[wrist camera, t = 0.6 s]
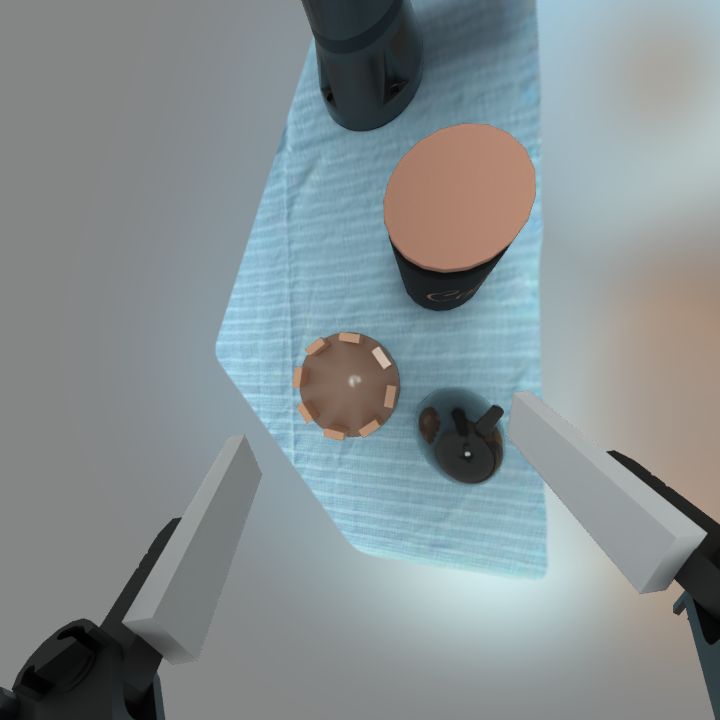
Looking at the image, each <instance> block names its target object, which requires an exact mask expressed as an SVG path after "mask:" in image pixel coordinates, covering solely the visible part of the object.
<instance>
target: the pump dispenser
mask: <svg viewBox="0 0 720 720" xmlns="http://www.w3.org/2000/svg"><path fill="white" fill-rule="evenodd" d="M503 414H504V410H503V409H502V408H501V407H500V406H498V405H491V404H490V403H489V402H488V401H487V400H486V399H485V398H483V397H482V396H481V395H479V394H477V393H475V392H473V391H471V390H468V389H464V388H445V389H441V390H438V391H436V392H434V393H432V394H431V395H429V396H428V397H427V398H426V399H425V400H424V401H423V402H422V403H421V405H420V406H419V408H418V410H417V413H416V416H415V422H414V432H415V437H416V441H417V444H418V447H419V449H420V452H421V454H422V455H423V457H424V459H425V460H426V462H427V463H428V464H429V465H430V467H431V468H432V469H433V470H434V471H435V472H436V473H438V474H439V475H440V476H442V477H443V478H445V479H446V480H448V481H450V482H452V483H455V484H457V485H461V486H466V487H475V486H480V485H483V484H486V483H488V482H489V481H491V480H492V479H493V478H494V477H495V476H496V475H497V474H498V473H499V471H500V470H501V468H502V466H503V463H504V460H505V455H506V435H505V430H504V427H503V424H502V421H501V419H500V418H501V417H502V415H503Z"/></svg>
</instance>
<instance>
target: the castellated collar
mask: <svg viewBox="0 0 720 720" xmlns="http://www.w3.org/2000/svg"><path fill="white" fill-rule="evenodd" d="M305 350H306V351H307V353H308V355H307V357H306V358H305V360H304V363H303V365H302V366H301V367H295V371H294V378H293V385H292V386H293V387H297V388H300V395H301V398H302V403H301V404H299V405H298V406H297V408H298V410H299V412H300V413H301V415H302V416H303V418H304V420H305V421H306V423H309V422H311V421H313V420H314V421H315V422H316V423H317V424H318V425H319V426H320V427H322V428H323V429H325V430H324V436H325V437H329V438H333V439H336V440H340V441H343V440H344V439H345V438H346V437H358V436H362V437H363V438H364V437H366V436H367V435H369V434H370V433H372V432H373V431H375V430H376V429H378V428H379V427H381V426H382V425H383V424H384V423H385V422H386V421H387V419H388V418H389V417H390V415H391V414H392V412H393V410H394V409H395V406H396V404H397V401H398V397H399V391H400V380H399V374H398V370H397V367H396V365H395V362H394V360H393V359H392V357H391V355H390V354H389V353H388V351H387V350H386V349H385V348H384V347H383V346H382V345H381V344H379V343H378V342H377V341H375V340H374V339H372V338H370V337H367V336H365V335H362V334H358V333H350V332H347V333H344V332H340V333H338V334H334V335H331V336H329V337H327V338H322V337H320V338H319V339H317V340H316V341H315V342H314V343H312V344H311V345H310V346H309V347H307V348H306V349H305Z"/></svg>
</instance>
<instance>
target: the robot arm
mask: <svg viewBox="0 0 720 720" xmlns="http://www.w3.org/2000/svg"><path fill="white" fill-rule="evenodd" d="M301 1H302V4H303V7H304V9H305V12H306V15H307V17H308V20H309V23H310V26H311V29H312V32H313V35H314V38H315V46H316V56H317V65H318V75H319V84H320V89H321V93H322V96H323V99H324V101H325V104H326V106H327V109H328V111H329V113H330V115H331V116H332V118H333V119H334V120H335V121H336V122H337V123H339V124H340V125H341V126H343V127H345V128H348V129H352V130H370V129H374V128H377V127H379V126H382V125H384V124H386V123H387V122H389V121H391V120H392V119H393V118H395V117H396V116H397V115H398V114H400V113H401V112H402V111H403V110H404V108H405V107H406V106H407V105H408V104H409V102H410V101H411V99H412V98H413V96H414V94H415V93H416V90H417V88H418V86H419V83H420V80H421V76H422V70H423V44H422V37H421V32H420V29H419V26H418V23H417V20H416V17H415V14H414V11H413V8H412V4H411V1H410V0H301ZM507 437H508V438H509V439H510V441H511V442H512V443H513V444H514V445H515V446H516V448H517V449H518V450H519V451H520V452H521V454H522V455H523V456H524V457H525V458H526V460H527V461H528V462H529V463H530V464H531V465H532V467H533V468H534V469H535V470H536V471H537V473H538V474H539V475H540V476H541V477H542V478H543V480H544V481H545V482H546V483H547V484H548V486H549V487H550V488H551V489H552V490H553V491H554V493H555V494H556V495H557V496H558V497H559V499H560V500H561V501H562V502H563V503H564V505H566V507H567V508H568V509H569V511H570V512H571V513H572V514H573V515H574V516H575V518H576V519H577V520H578V521H579V522H580V523H581V525H582V526H583V527H584V528H585V529H586V531H587V532H588V533H589V534H590V535H591V537H592V538H593V539H594V540H595V541H596V542H597V544H598V545H599V546H600V547H601V548H602V550H603V551H604V552H605V553H606V554H607V556H608V557H609V558H610V559H611V560H612V562H613V563H614V564H615V565H616V566H617V567H618V569H619V570H620V571H621V572H622V573H623V575H624V576H625V577H626V578H627V579H628V580H629V582H630V583H631V584H632V585H633V586H634V587H635V589H636V590H637V591H638V592H639V594H643V593H650V592H657V591H663V590H666V589H667V588H668V587H669V585H670V584H671V582H672V581H673V580H674V579H675V580H676V581H677V582H678V583H679V584H680V585H681V586H682V587H683V588H684V589H685V591H684V592H683V594H682V595H681V596H680V598H679V599H678V600H677V601H676V602H675V604H674V605H673V613H675V614H677V615H680V613H681V612H682V611H683V610H684V609H685V608H686V611H687V614H688V620H689V622H690V626H691V629H692V633H693V637H694V641H695V645H696V648H697V652H698V656H699V660H700V663H701V667H702V671H703V674H704V678H705V682H706V686H707V690H708V694H709V697H710V701H711V705H712V709H713V712H714V716H715V720H720V524H718V523H717V522H716V521H714V520H713V519H712V518H710V517H709V516H707V515H706V514H705V513H704V512H702V511H701V510H700V509H698V508H697V507H696V506H694V505H693V504H692V503H690V502H689V501H688V500H686V499H685V498H684V497H682V496H681V495H679V494H678V493H677V492H675V491H674V490H673V489H671V488H670V487H667V486H666V485H665V483H664V482H662V481H661V480H660V479H658V478H657V477H656V476H652V475H651V473H650V472H649V471H648V470H646V469H645V468H644V467H642V466H641V465H640V464H638V463H637V462H636V461H634V460H632V459H631V458H628V457H627V456H625V455H623V454H620V453H618V452H616V451H615V450H613V451H607V452H605V451H604V450H603V449H602V448H600V447H599V446H598V445H596V444H595V443H594V442H593V441H591V440H590V439H589V438H588V437H587V436H585V435H584V434H583V433H582V432H580V431H579V430H578V429H577V428H575V427H574V426H573V425H571V424H570V423H569V422H568V421H567V420H565V419H564V418H563V417H562V416H560V415H559V414H558V413H557V412H555V411H554V410H553V409H552V408H550V407H549V406H548V405H546V404H545V403H544V402H543V401H542V400H540V399H539V398H538V397H537V396H535V395H534V394H533V393H532V392H530V391H522V392H516V393H513V399H512V406H511V413H510V420H509V427H508V434H507ZM261 476H262V473H261V471H260V468H259V466H258V464H257V461H256V459H255V457H254V454H253V452H252V450H251V447H250V445H249V443H248V441H247V439H246V436H245V434H244V435H237V436H231V437H229V438H228V440H227V441H226V443H225V445H224V446H223V448H222V450H221V452H220V453H219V455H218V457H217V459H216V460H215V462H214V464H213V465H212V467H211V469H210V471H209V472H208V474H207V476H206V478H205V479H204V481H203V483H202V484H201V486H200V488H199V490H198V491H197V493H196V495H195V497H194V498H193V500H192V502H191V504H190V505H189V507H188V509H187V510H186V512H185V514H184V516H183V517H181V518H175V519H172V520H171V521H170V522H169V523H168V524H167V525H166V526H165V528H164V529H163V530H162V531H161V532H160V533H159V534H158V535H157V537H156V539H155V540H154V542H153V543H152V545H151V546H150V548H149V550H148V553H147V554H145V556H144V558H143V559H142V561H141V562H140V564H139V568H137V569H136V570H135V572H134V574H133V575H132V577H131V578H130V580H129V581H128V583H127V585H126V586H125V588H124V589H123V591H122V593H121V594H120V596H119V598H118V599H117V601H116V602H115V604H114V605H113V607H112V609H111V610H110V612H109V613H108V615H107V616H106V618H105V620H104V621H103V623H102V625H101V626H100V627H98V626H97V625H95V624H94V623H93V622H92V621H90V620H87V619H84V618H83V619H80V620H76V621H72V622H71V623H69V624H67V625H66V626H64V627H62V628H61V629H59V630H58V631H56V632H55V633H54V634H53V635H52V636H50V638H48V639H47V640H46V641H45V642H43V643H42V644H41V646H40V647H39V648H38V649H37V650H36V651H35V652H34V653H33V654H32V656H31V657H30V658H29V659H28V660H27V662H26V663H25V665H24V666H23V668H22V669H21V671H20V672H19V674H18V675H17V678H16V680H15V683H14V685H13V687H12V690H13V692H11V691H9V690H7V689H5V688H2V687H0V720H165V714H164V707H163V699H162V692H161V685H160V678H159V676H158V673H157V669H158V667H159V665H160V662H161V660H162V658H165V659H166V660H167V661H168V662H169V663H171V664H172V665H174V664H181V663H187V662H194V661H198V659H199V656H200V653H201V650H202V647H203V644H204V641H205V638H206V636H207V633H208V629H209V627H210V624H211V621H212V618H213V615H214V612H215V609H216V607H217V604H218V601H219V598H220V595H221V592H222V589H223V586H224V583H225V580H226V578H227V575H228V572H229V569H230V566H231V563H232V560H233V557H234V554H235V551H236V548H237V546H238V543H239V540H240V537H241V534H242V531H243V528H244V525H245V522H246V519H247V517H248V513H249V511H250V508H251V505H252V502H253V499H254V496H255V493H256V490H257V488H258V484H259V481H260V479H261Z"/></svg>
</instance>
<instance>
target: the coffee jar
mask: <svg viewBox="0 0 720 720" xmlns="http://www.w3.org/2000/svg"><path fill="white" fill-rule="evenodd" d="M535 196H536V184H535V169H534V167H533V164H532V162H531V160H530V157H529V155H528V153H527V151H526V149H525V148H524V147H523V146H522V145H521V144H520V143H519V142H518V141H517V140H516V139H515V138H514V137H513V136H512V135H511V134H510V133H508V132H505V131H503V130H500V129H498V128H495V127H493V126H490V125H488V124H468V123H463V124H459V125H455V126H451V127H447V128H443V129H440V130H438V131H436V132H435V133H433V134H431V135H429V136H428V137H426V138H424V139H422V140H421V141H419V142H418V143H417V144H416V145H415V146H414V147H413V148H412V149H411V150H410V151H409V152H408V153H406V154H405V155H404V156H403V157H402V158H401V160H400V162H399V163H398V165H397V167H396V168H395V170H394V172H393V173H392V175H391V177H390V178H389V182H388V186H387V190H386V193H385V197H384V201H383V202H384V223H385V225H386V228H387V230H388V233H389V239H390V242H391V245H392V248H393V251H394V255H395V258H396V261H397V264H398V267H399V270H400V273H401V276H402V280H403V283H404V285H405V288H406V290H407V293H408V294H409V295H410V297H411V298H412V299H413V300H414V301H415V302H416V303H418V304H419V305H421V306H423V307H424V308H428V309H432V310H437V311H438V310H450V309H452V308H455V307H457V306H460V305H462V304H464V303H465V302H466V301H467V300H469V299H470V298H471V297H473V295H474V294H475V293H476V291H477V290H478V289H479V287H480V286H481V284H482V283H483V282H484V280H485V279H486V278H487V276H488V275H489V274H490V272H491V271H492V269H493V268H494V267H495V265H496V264H497V263H498V261H499V260H500V259H501V257H502V256H503V254H504V253H505V252H506V250H507V249H508V247H509V246H510V244H511V243H512V242H513V240H514V239H515V238H516V236H517V235H518V233H519V232H520V230H521V229H522V228H523V226H524V225H525V223H526V222H527V220H528V218H529V215H530V212H531V209H532V206H533V203H534V199H535Z"/></svg>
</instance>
